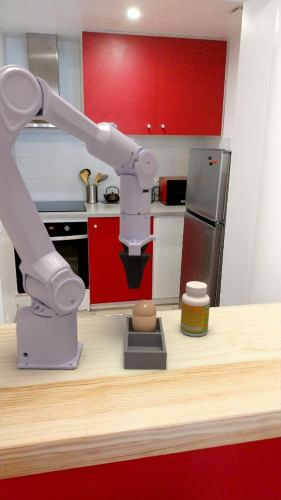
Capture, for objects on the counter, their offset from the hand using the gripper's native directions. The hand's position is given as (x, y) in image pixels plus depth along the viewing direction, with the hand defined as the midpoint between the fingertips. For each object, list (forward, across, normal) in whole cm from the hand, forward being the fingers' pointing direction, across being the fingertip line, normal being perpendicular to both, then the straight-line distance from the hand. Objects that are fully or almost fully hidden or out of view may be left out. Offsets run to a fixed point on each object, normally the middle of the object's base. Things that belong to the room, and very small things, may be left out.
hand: (134, 281), depth 71 cm
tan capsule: (+9, -6, -2) cm, 11 cm away
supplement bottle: (+10, -2, -12) cm, 15 cm away
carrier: (+9, -9, -2) cm, 13 cm away
